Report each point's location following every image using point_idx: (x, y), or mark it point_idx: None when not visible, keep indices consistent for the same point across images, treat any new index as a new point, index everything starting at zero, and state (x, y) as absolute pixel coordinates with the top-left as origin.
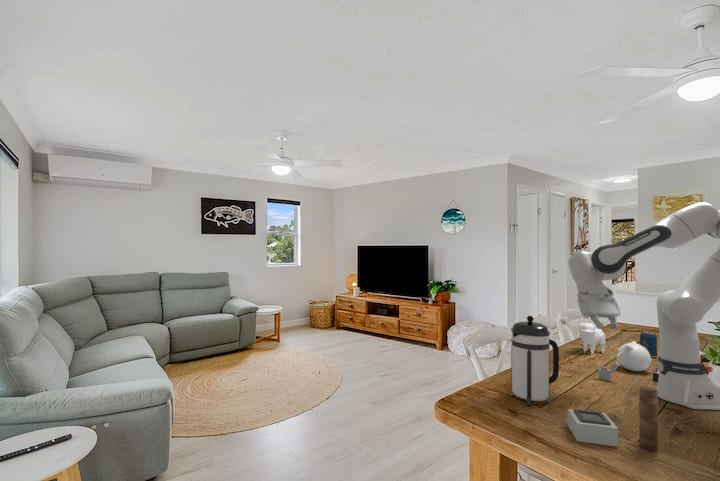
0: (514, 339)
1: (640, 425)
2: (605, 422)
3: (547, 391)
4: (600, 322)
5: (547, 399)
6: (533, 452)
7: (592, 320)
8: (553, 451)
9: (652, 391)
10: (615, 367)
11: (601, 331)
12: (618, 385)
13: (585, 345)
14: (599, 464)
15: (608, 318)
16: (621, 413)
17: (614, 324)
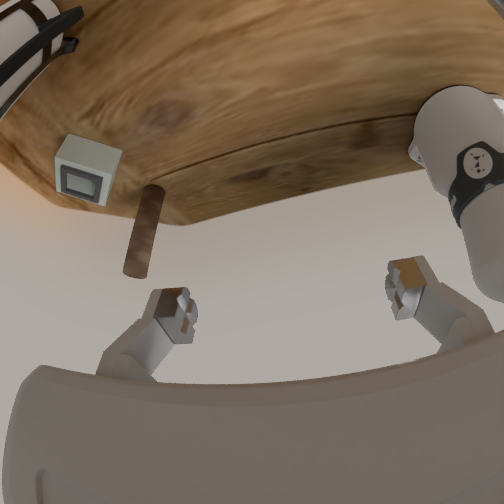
0: None
1: (136, 215)
2: (91, 201)
3: (42, 71)
4: (170, 347)
5: (65, 39)
6: (20, 180)
7: (114, 347)
8: (37, 180)
9: (133, 277)
10: (501, 13)
11: None
12: (447, 4)
13: None
14: (75, 200)
15: (459, 339)
16: (218, 106)
17: (394, 311)
